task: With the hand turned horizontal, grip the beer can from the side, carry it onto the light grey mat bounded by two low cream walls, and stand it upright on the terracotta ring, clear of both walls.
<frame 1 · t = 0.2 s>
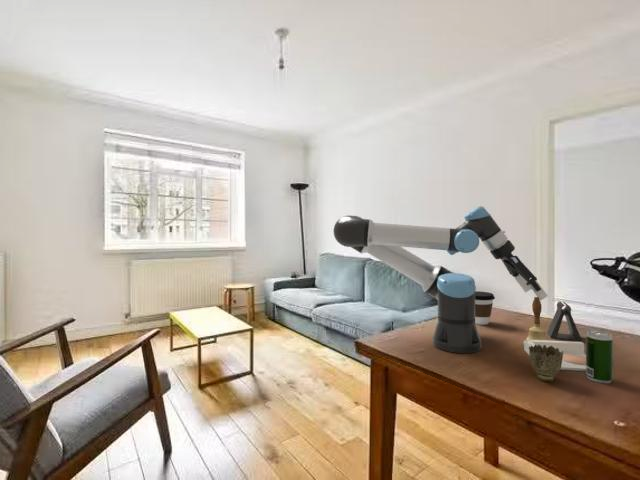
hand: (536, 294, 122), 15 cm above the table, tool tilted 35°, fingers open, 13 cm apart
coffee cup: (479, 323, 141), on the table
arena: (563, 360, 101), on the table
beer can: (598, 379, 89), on the table
hand bell: (537, 345, 114), on the table
phone stand: (563, 337, 122), on the table
cup: (545, 380, 89), on the table
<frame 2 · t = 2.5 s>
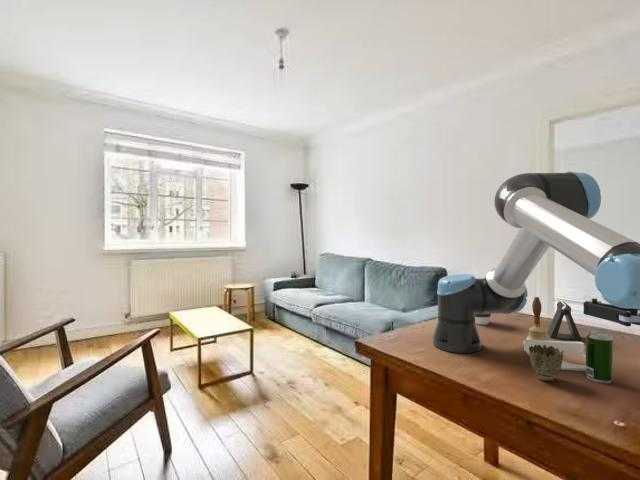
hand: (620, 302, 79), 22 cm above the table, tool horizontal, fingers open, 13 cm apart
nothing on the table moved.
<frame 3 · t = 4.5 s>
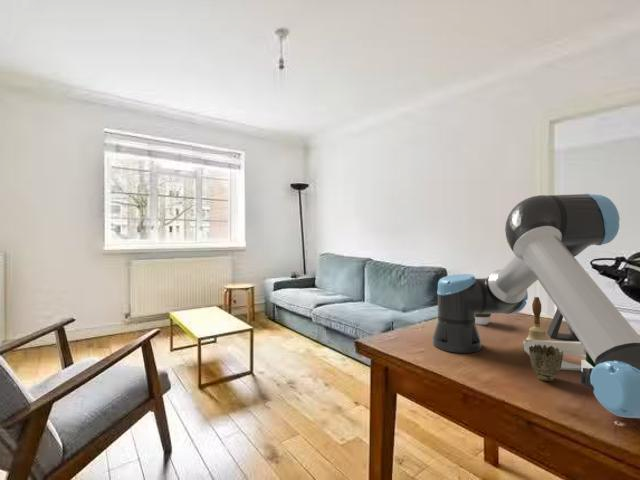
hand: (617, 368, 80), 6 cm above the table, tool horizontal, fingers open, 13 cm apart
nothing on the table moved.
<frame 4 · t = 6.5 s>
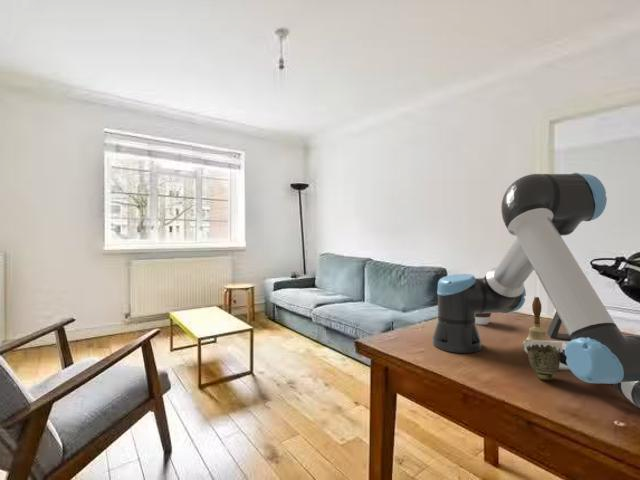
hand: (593, 349, 92), 6 cm above the table, tool horizontal, fingers open, 13 cm apart
cup: (545, 379, 89), on the table, touching gripper
everything else where it was.
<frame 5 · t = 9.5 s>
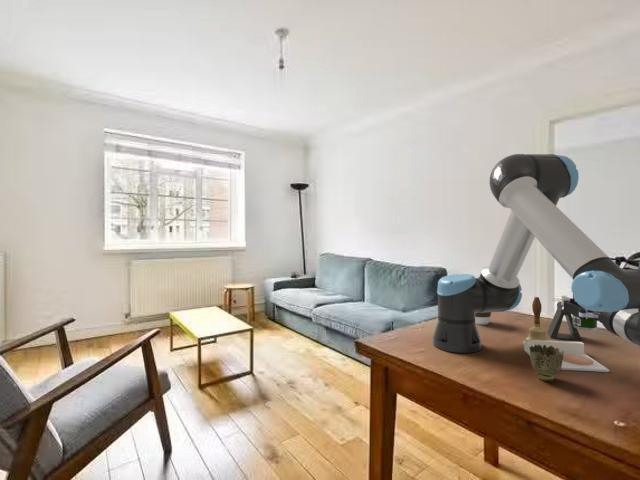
hand: (574, 300, 100), 18 cm above the table, tool horizontal, fingers closed on beer can, 5 cm apart
beer can: (584, 328, 95), point 11 cm above the table, touching gripper
cup: (545, 379, 89), on the table
everything else where it was.
when the fingers open (8 cm above the table, at t = 11.8 s): beer can drops 1 cm, resting on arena.
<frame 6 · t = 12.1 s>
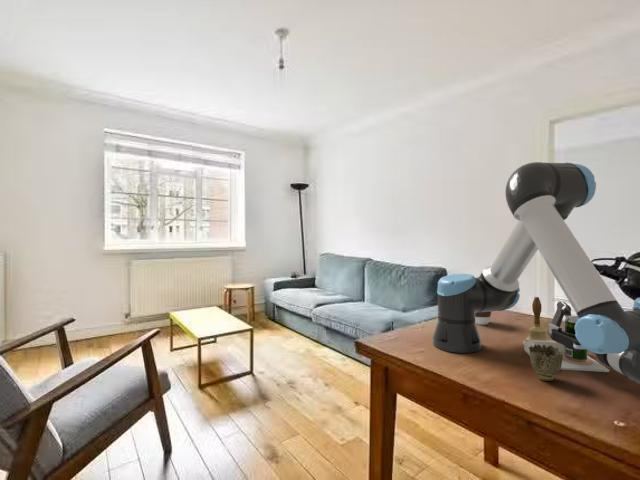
hand: (566, 327, 104), 8 cm above the table, tool horizontal, fingers open, 8 cm apart
beer can: (575, 359, 100), point 1 cm above the table, touching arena
everything else where it was.
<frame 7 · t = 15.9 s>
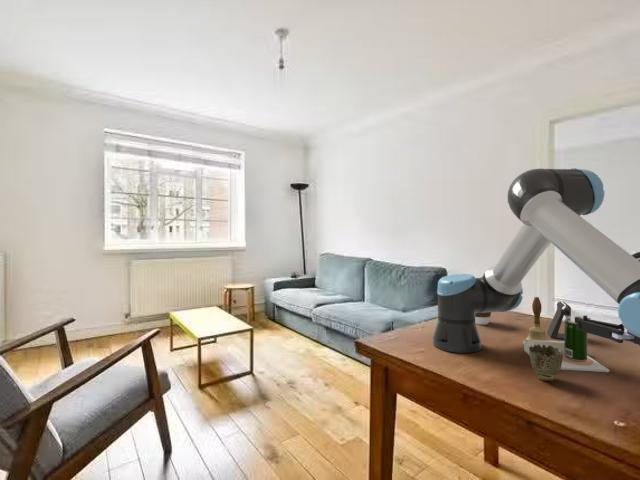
hand: (600, 316, 89), 16 cm above the table, tool horizontal, fingers open, 13 cm apart
nothing on the table moved.
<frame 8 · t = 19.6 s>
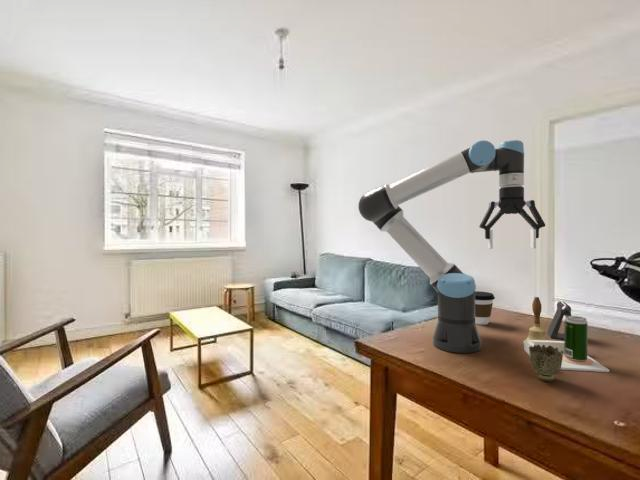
hand: (511, 248, 120), 32 cm above the table, tool pointing down, fingers open, 13 cm apart
nothing on the table moved.
at the end: beer can inside the target area (0.4 cm from its centre), point 0.6 cm above the table; beer can tilted 0°; the gripper is holding nothing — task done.
